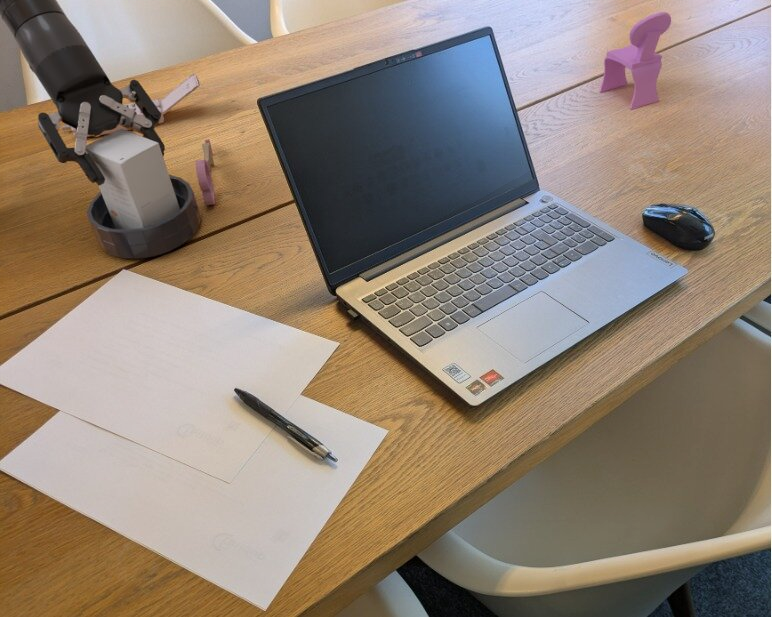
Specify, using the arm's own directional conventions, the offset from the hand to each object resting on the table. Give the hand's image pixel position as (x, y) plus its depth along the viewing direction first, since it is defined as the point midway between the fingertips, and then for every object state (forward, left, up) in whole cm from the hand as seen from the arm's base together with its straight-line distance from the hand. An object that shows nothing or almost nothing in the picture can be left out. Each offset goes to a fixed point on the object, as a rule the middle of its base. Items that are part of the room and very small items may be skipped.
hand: (132, 169), depth 86 cm
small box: (0, +1, -10) cm, 10 cm away
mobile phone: (+15, +33, -11) cm, 38 cm away
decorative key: (+14, +7, -11) cm, 19 cm away
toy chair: (+80, -27, -11) cm, 85 cm away
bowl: (0, +1, -11) cm, 11 cm away
